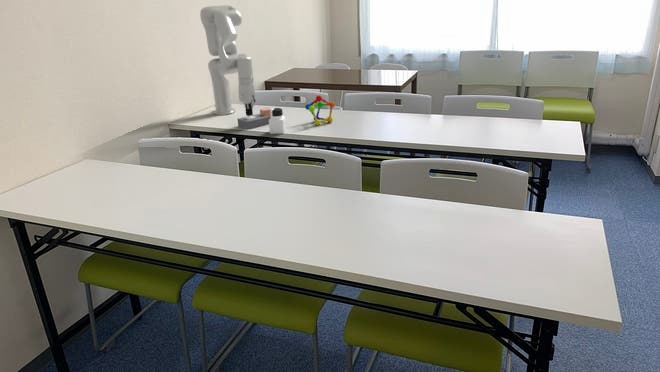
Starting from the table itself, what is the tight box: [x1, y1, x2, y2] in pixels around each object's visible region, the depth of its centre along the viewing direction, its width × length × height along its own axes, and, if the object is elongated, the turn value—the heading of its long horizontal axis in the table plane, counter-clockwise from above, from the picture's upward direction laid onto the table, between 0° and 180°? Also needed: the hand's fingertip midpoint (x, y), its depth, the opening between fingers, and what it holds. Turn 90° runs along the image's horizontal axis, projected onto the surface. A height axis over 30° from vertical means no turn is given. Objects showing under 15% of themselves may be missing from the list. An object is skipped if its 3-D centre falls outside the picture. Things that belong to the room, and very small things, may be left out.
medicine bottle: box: [268, 107, 287, 135], centre depth 245 cm, size 7×7×12 cm
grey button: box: [244, 116, 256, 120], centre depth 260 cm, size 4×4×4 cm
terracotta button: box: [259, 107, 272, 116], centre depth 265 cm, size 4×4×4 cm
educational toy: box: [305, 94, 336, 126], centre depth 258 cm, size 16×13×15 cm
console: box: [236, 113, 271, 130], centre depth 263 cm, size 10×20×4 cm, turn 130°
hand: (249, 115), depth 259 cm, fingers closed
